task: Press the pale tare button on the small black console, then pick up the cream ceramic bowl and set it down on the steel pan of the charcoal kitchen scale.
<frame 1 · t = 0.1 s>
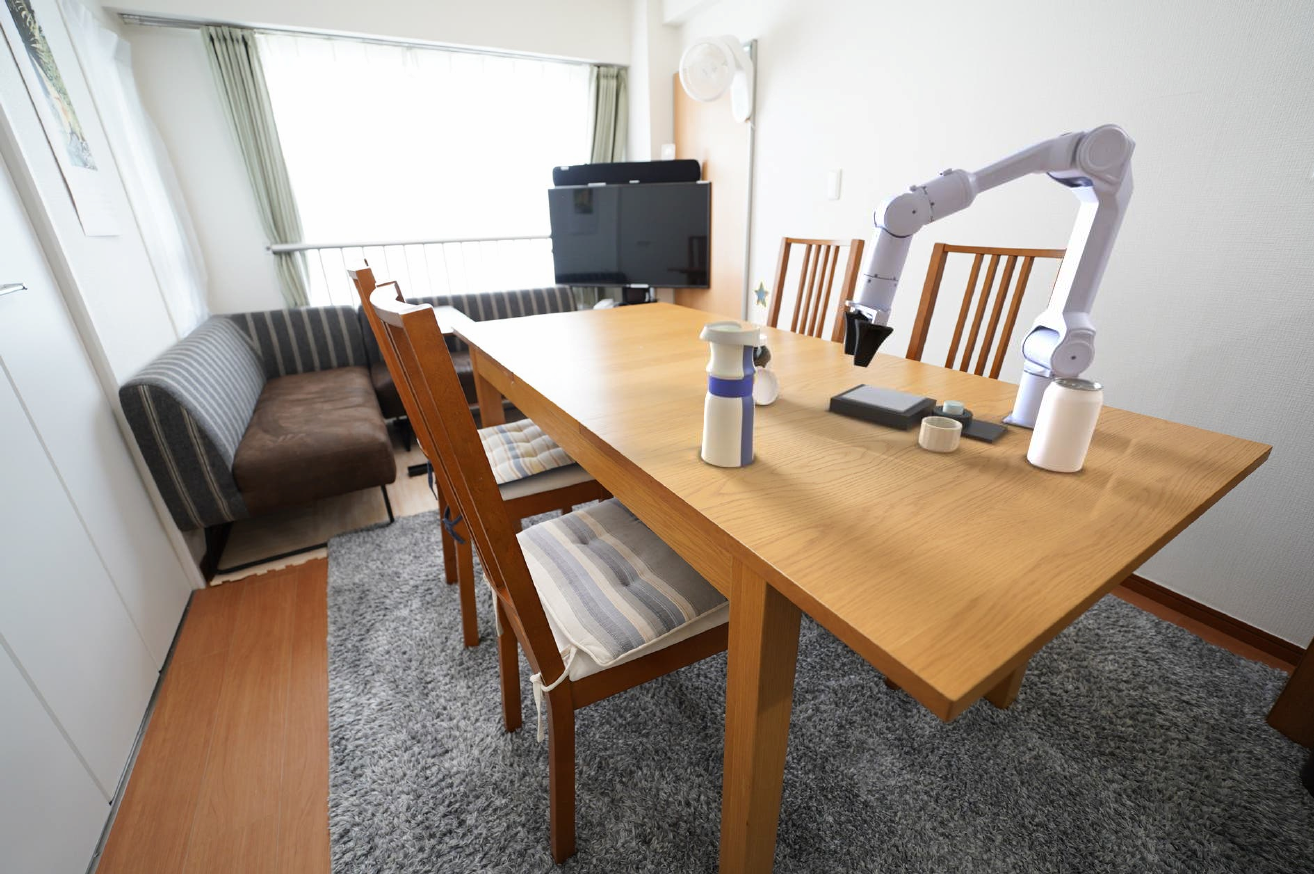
hand: (855, 360, 91), 10 cm above the table, tool pointing down, fingers open, 7 cm apart
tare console: (965, 428, 90), on the table
can: (1052, 465, 77), on the table
scale: (881, 412, 98), on the table
water bottle: (726, 456, 81), on the table
tare button: (953, 408, 90), point 3 cm above the table, slide at 0.2 cm
bowl: (936, 446, 83), on the table
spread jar: (751, 398, 107), on the table
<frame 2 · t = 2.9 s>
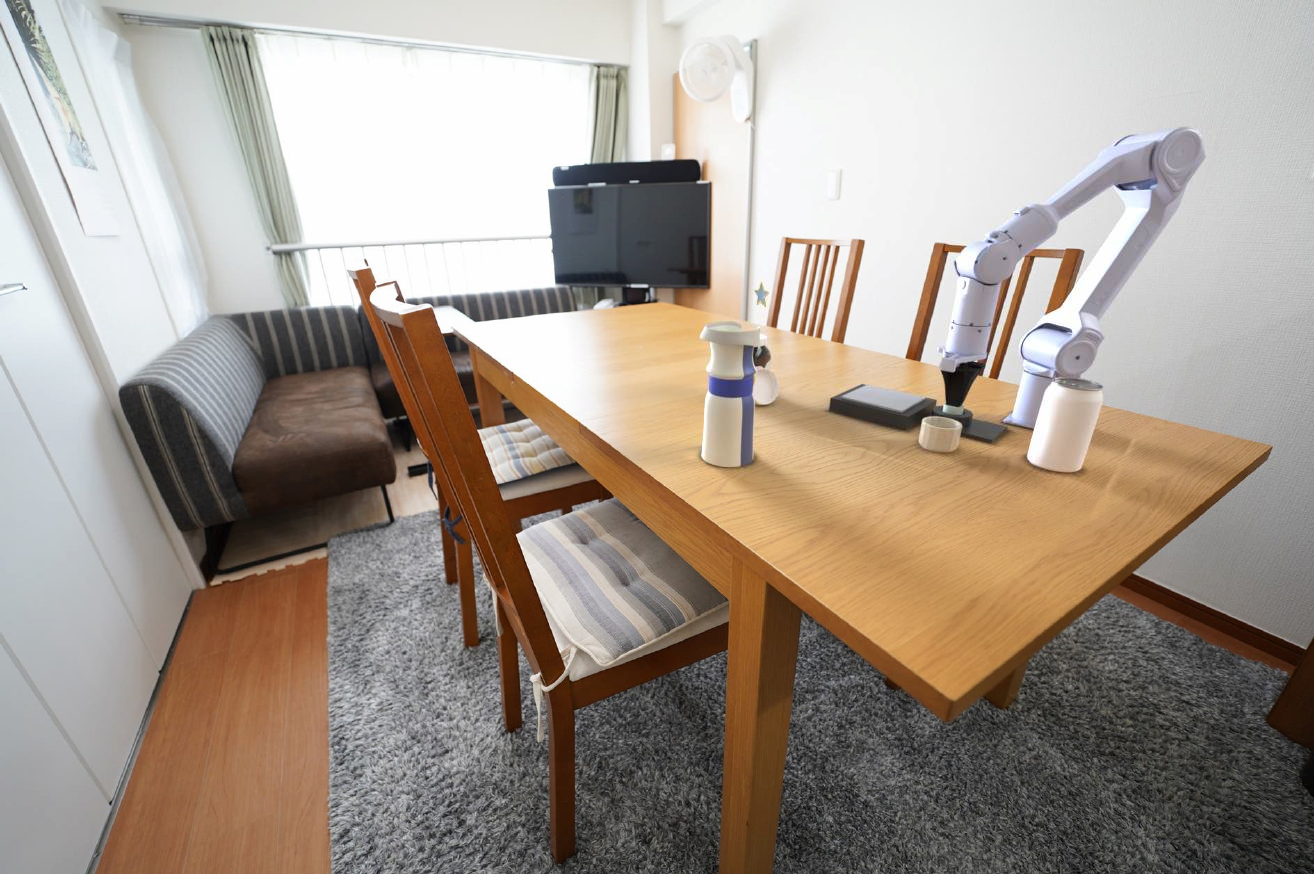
hand: (953, 405, 90), 4 cm above the table, tool pointing down, fingers closed, pressing on tare button
tare button: (952, 410, 91), point 3 cm above the table, slide at -0.2 cm, touching gripper
everything else where it was.
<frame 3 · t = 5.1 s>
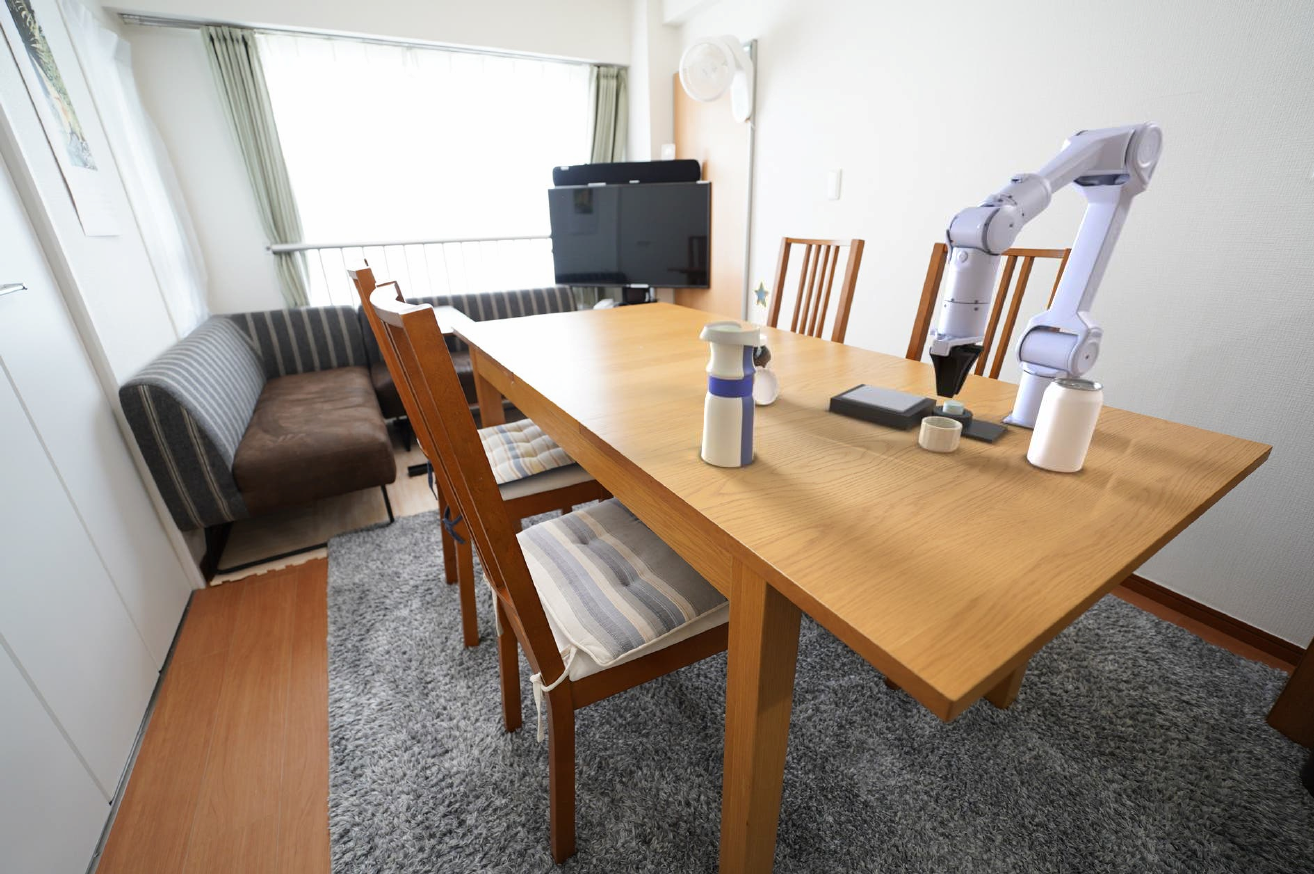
hand: (947, 394, 80), 8 cm above the table, tool pointing down, fingers closed
tare button: (953, 408, 90), point 3 cm above the table, slide at 0.2 cm
everything else where it was.
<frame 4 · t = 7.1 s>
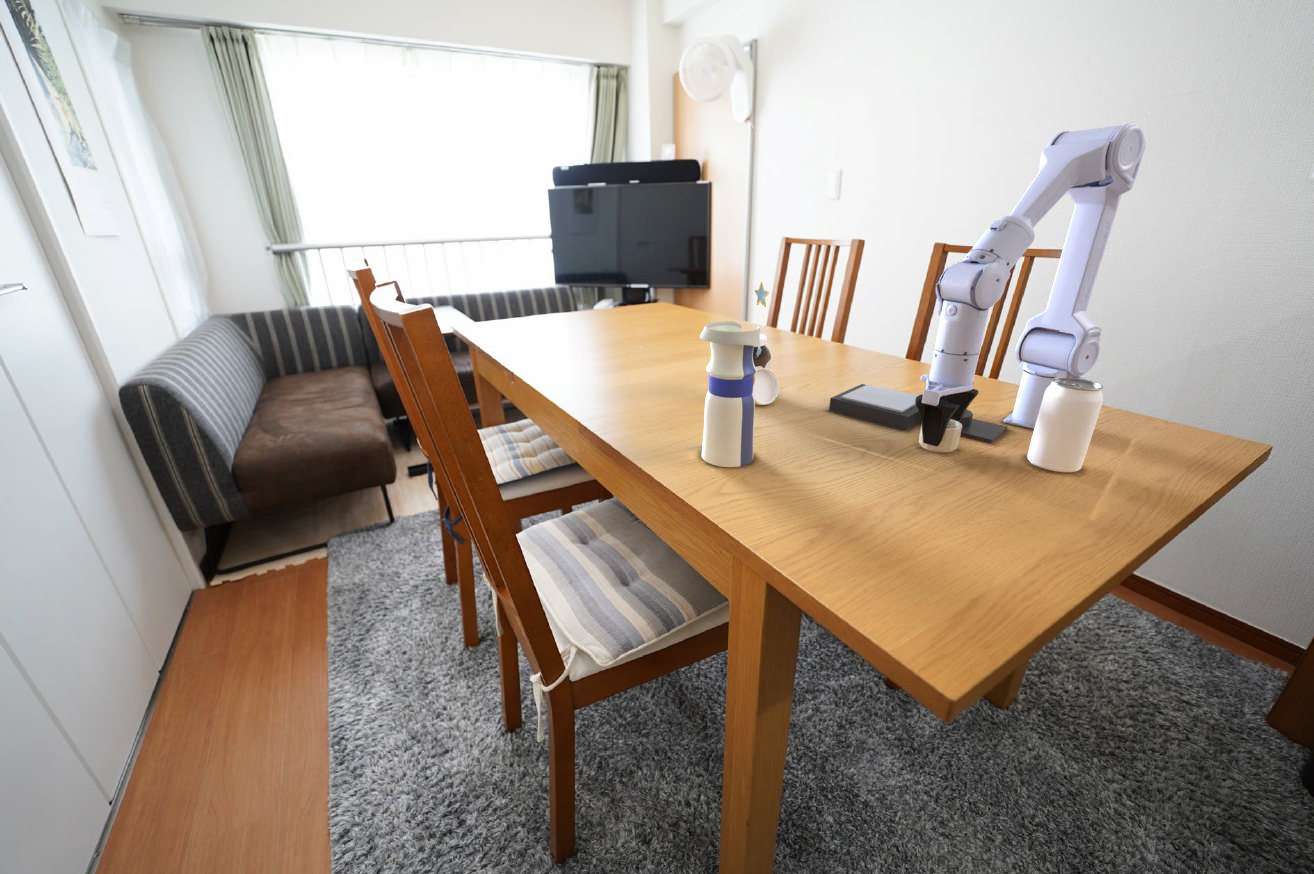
hand: (938, 438, 83), 1 cm above the table, tool pointing down, fingers closed on bowl, 5 cm apart
bowl: (936, 447, 83), on the table, touching gripper
everything else where it was.
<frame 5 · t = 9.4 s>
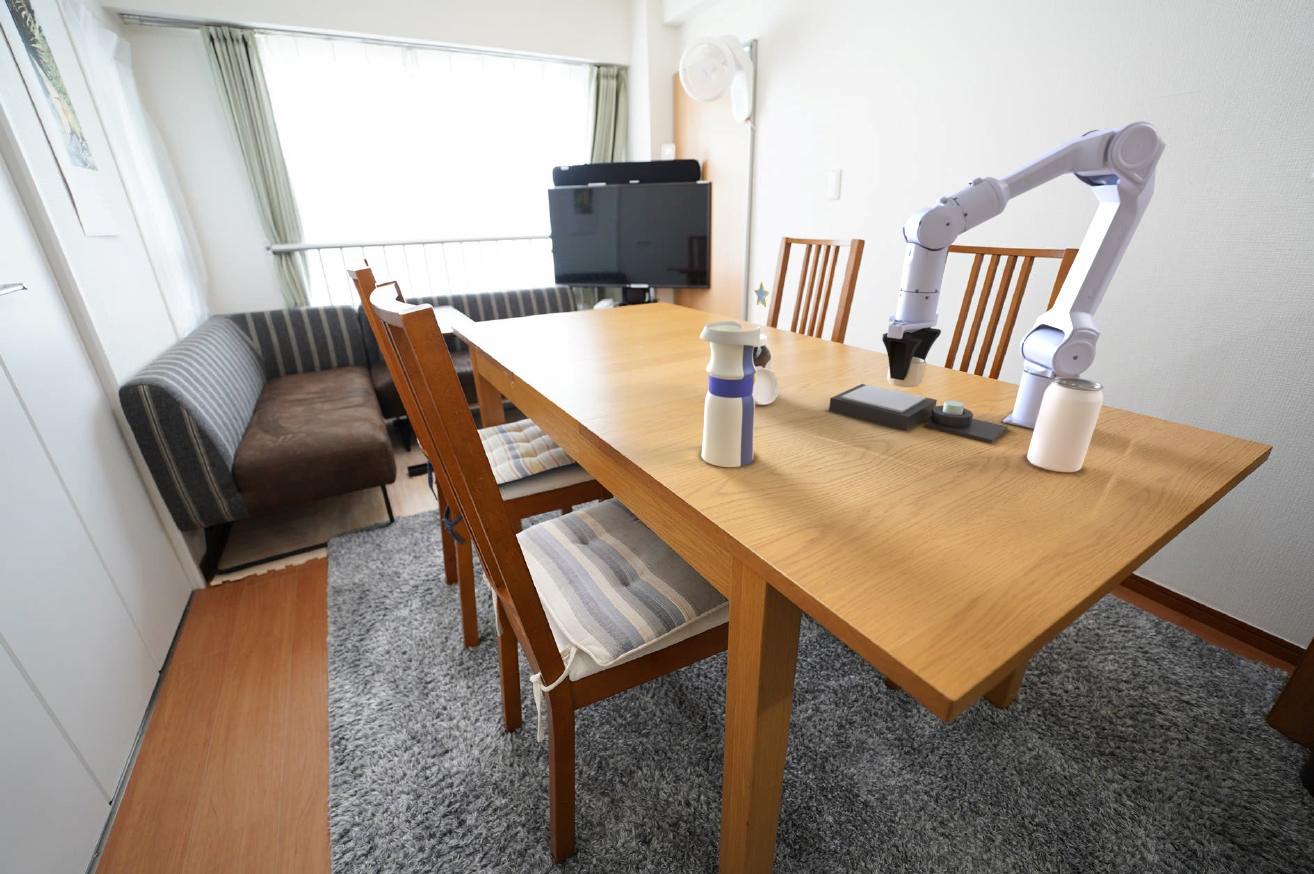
hand: (905, 375, 90), 8 cm above the table, tool pointing down, fingers closed on bowl, 5 cm apart
bowl: (903, 383, 90), point 7 cm above the table, touching gripper
everything else where it was.
when the fingers open (4 cm above the table, at t = 11.6 s): bowl stays where it is, resting on scale.
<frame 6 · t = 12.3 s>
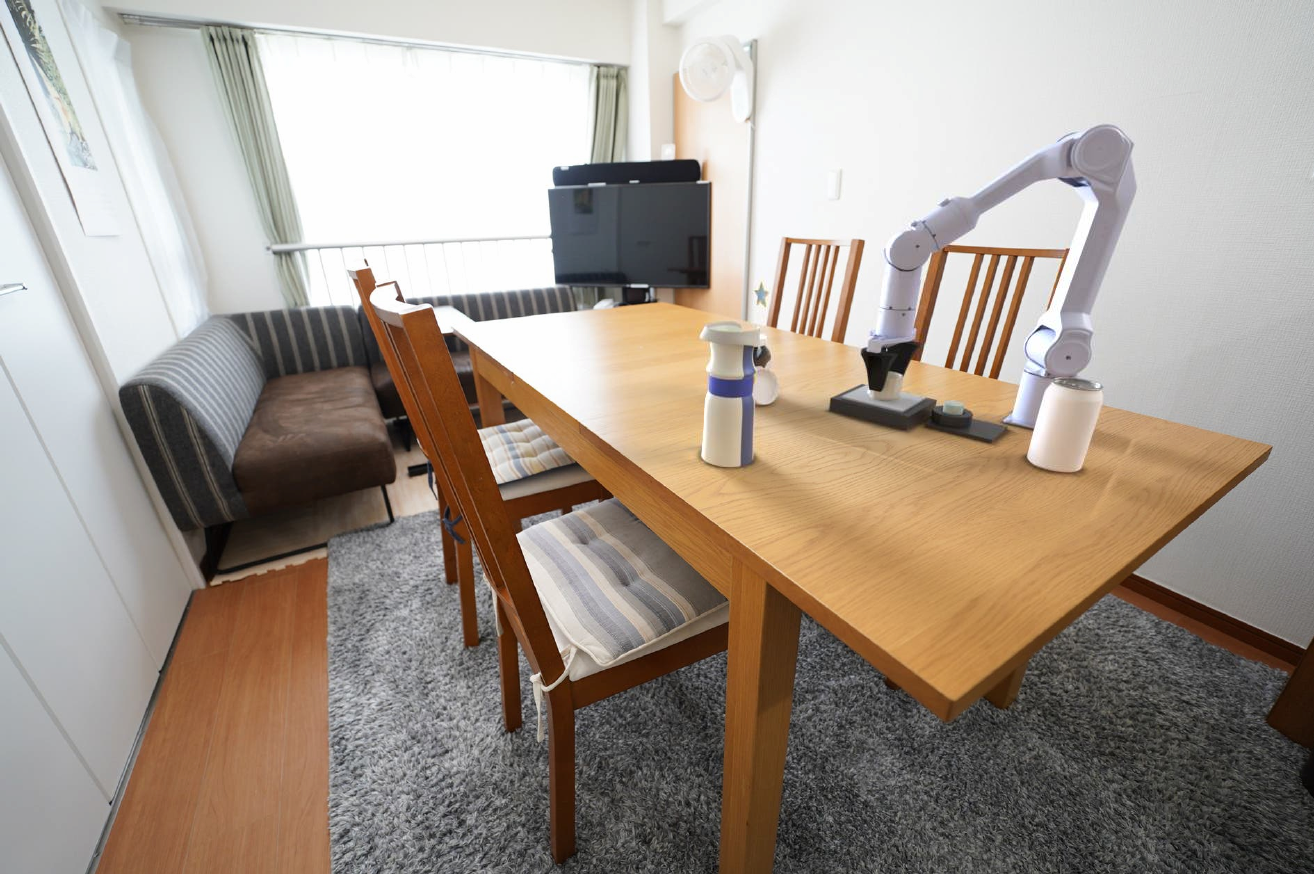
hand: (885, 385, 96), 5 cm above the table, tool pointing down, fingers open, 7 cm apart
bowl: (883, 396, 96), point 3 cm above the table, touching scale
everything else where it was.
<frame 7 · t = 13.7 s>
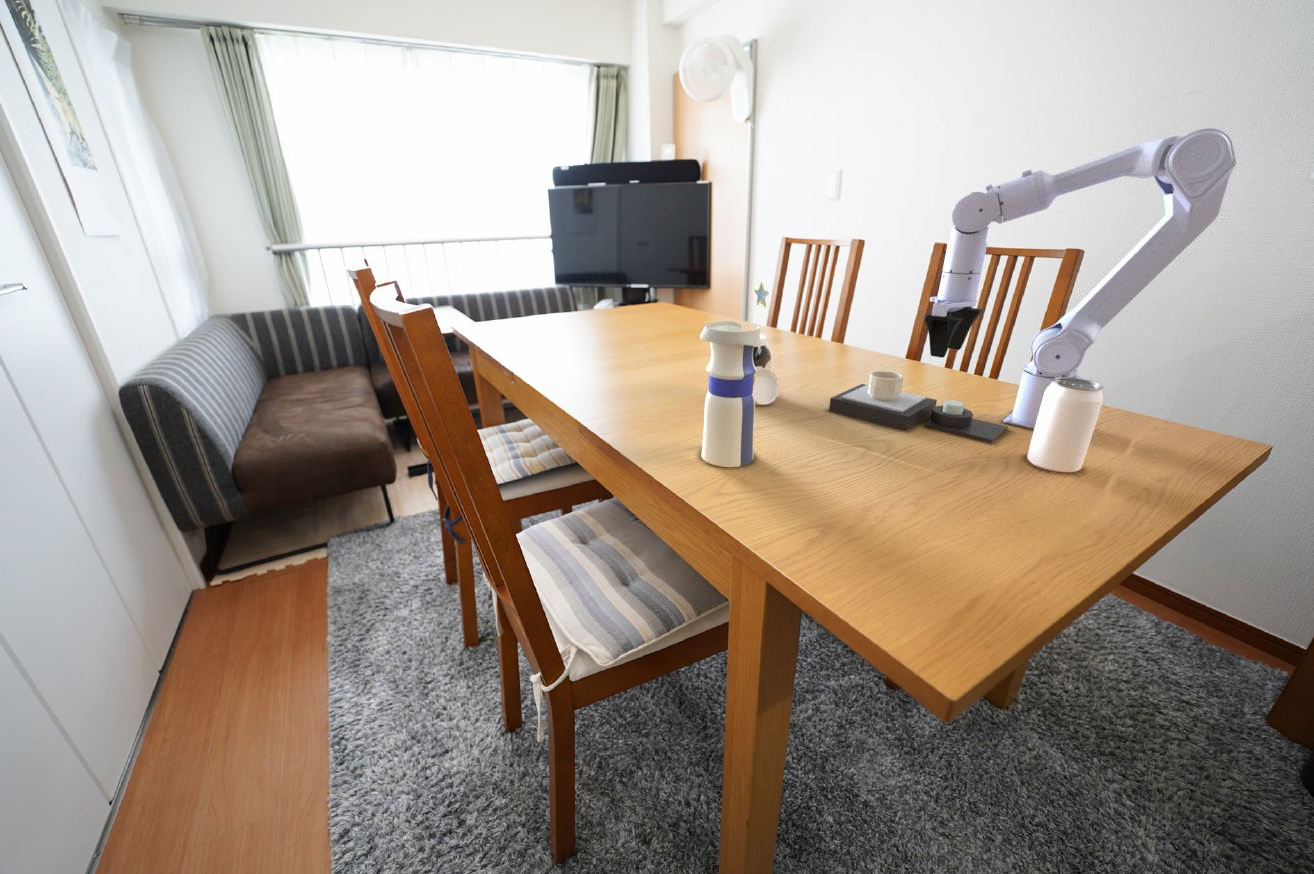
hand: (945, 352, 95), 10 cm above the table, tool pointing down, fingers open, 7 cm apart
nothing on the table moved.
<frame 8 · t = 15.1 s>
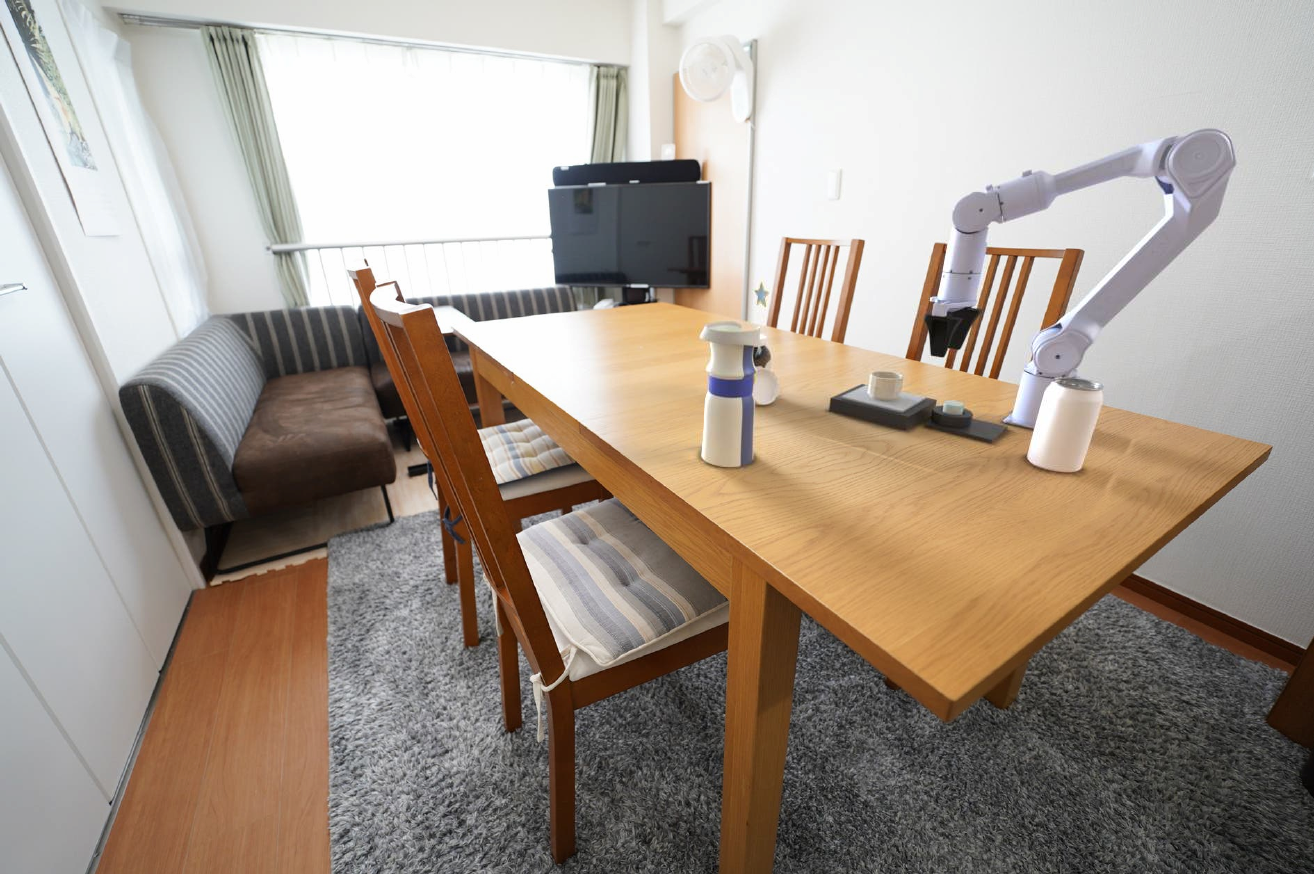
hand: (945, 352, 95), 10 cm above the table, tool pointing down, fingers open, 7 cm apart
nothing on the table moved.
at the end: tare button pushed in 1.2 cm at the most during the clip, back to 0.2 cm at the end; bowl 0.1 cm off-centre on the scale, point 3.0 cm above the scale's base; bowl tilted 0° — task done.
